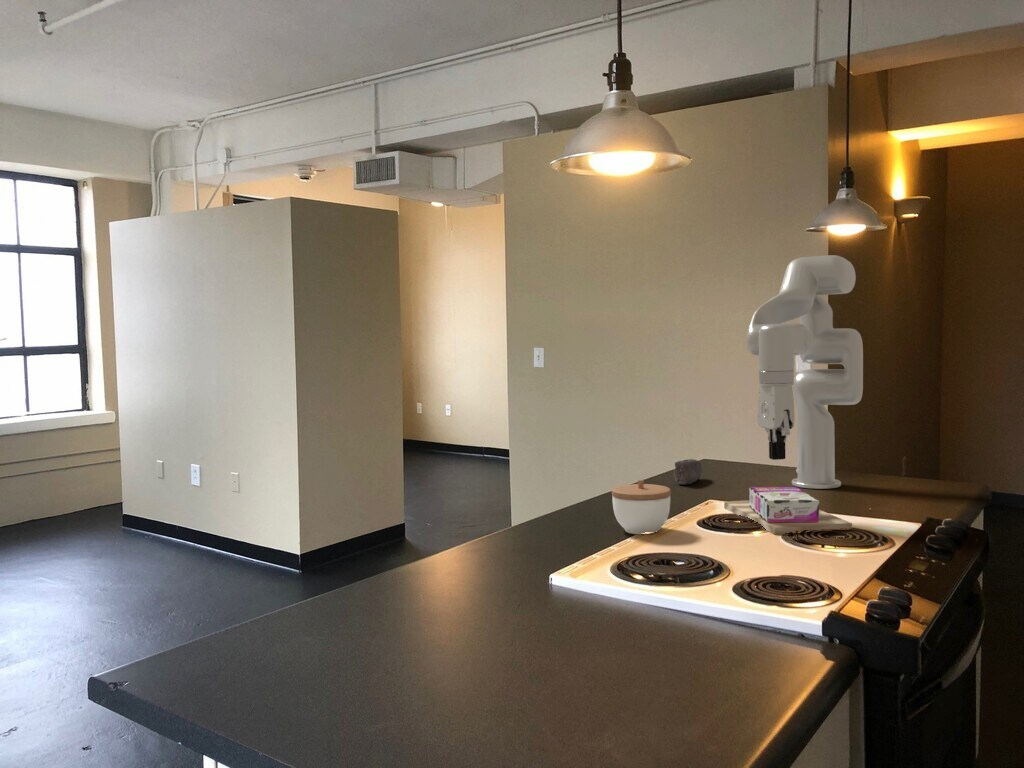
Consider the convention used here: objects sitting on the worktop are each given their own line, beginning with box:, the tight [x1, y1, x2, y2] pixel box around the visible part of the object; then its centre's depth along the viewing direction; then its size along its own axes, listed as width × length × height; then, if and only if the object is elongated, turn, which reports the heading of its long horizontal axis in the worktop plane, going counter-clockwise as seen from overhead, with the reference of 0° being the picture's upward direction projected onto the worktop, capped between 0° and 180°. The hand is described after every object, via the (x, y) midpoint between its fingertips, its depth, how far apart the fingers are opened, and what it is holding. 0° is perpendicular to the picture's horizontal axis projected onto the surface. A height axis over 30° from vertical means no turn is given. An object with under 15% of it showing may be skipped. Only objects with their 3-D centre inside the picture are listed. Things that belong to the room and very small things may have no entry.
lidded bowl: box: [611, 479, 672, 535], centre depth 178 cm, size 13×13×11 cm
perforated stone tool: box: [673, 458, 703, 486], centre depth 235 cm, size 15×5×7 cm, turn 143°
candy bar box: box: [748, 486, 820, 522], centre depth 183 cm, size 11×5×16 cm
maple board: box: [723, 500, 853, 536], centre depth 187 cm, size 28×17×2 cm, turn 7°
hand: (777, 458), depth 189 cm, fingers closed
